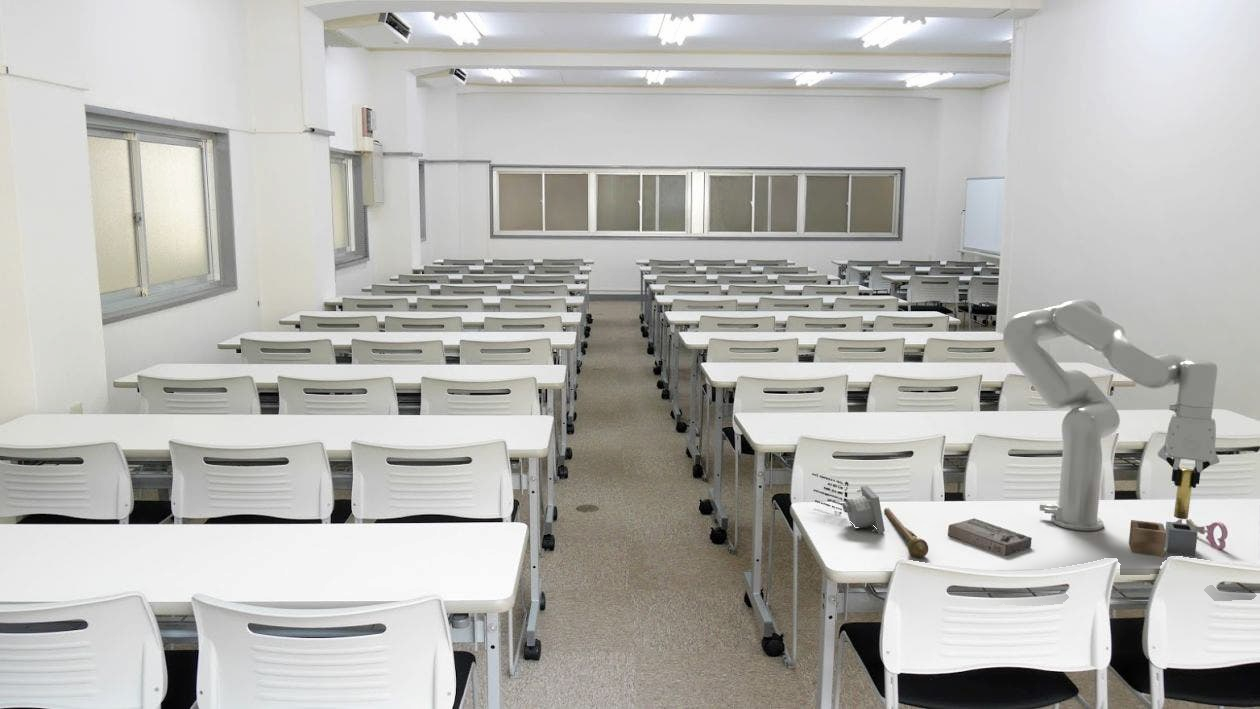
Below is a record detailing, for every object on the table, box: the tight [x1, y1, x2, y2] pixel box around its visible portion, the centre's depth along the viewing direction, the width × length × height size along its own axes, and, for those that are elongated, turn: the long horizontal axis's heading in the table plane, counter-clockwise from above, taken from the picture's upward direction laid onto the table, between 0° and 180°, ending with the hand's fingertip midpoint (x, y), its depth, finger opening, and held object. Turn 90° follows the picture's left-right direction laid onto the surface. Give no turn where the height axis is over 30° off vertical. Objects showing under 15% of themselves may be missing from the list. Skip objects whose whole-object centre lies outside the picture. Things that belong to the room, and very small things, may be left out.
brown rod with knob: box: [883, 507, 929, 559], centre depth 249 cm, size 5×35×5 cm
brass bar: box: [1173, 467, 1194, 520], centre depth 237 cm, size 3×3×12 cm
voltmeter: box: [811, 472, 886, 535], centre depth 259 cm, size 27×11×10 cm, turn 39°
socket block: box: [1165, 521, 1199, 557], centre depth 239 cm, size 6×6×6 cm
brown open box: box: [1128, 519, 1166, 557], centre depth 239 cm, size 7×7×6 cm
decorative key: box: [1173, 518, 1228, 550], centre depth 248 cm, size 7×1×20 cm
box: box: [947, 518, 1033, 557], centre depth 245 cm, size 11×17×3 cm, turn 34°
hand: (1184, 484), depth 237 cm, fingers closed on brass bar, 3 cm apart
